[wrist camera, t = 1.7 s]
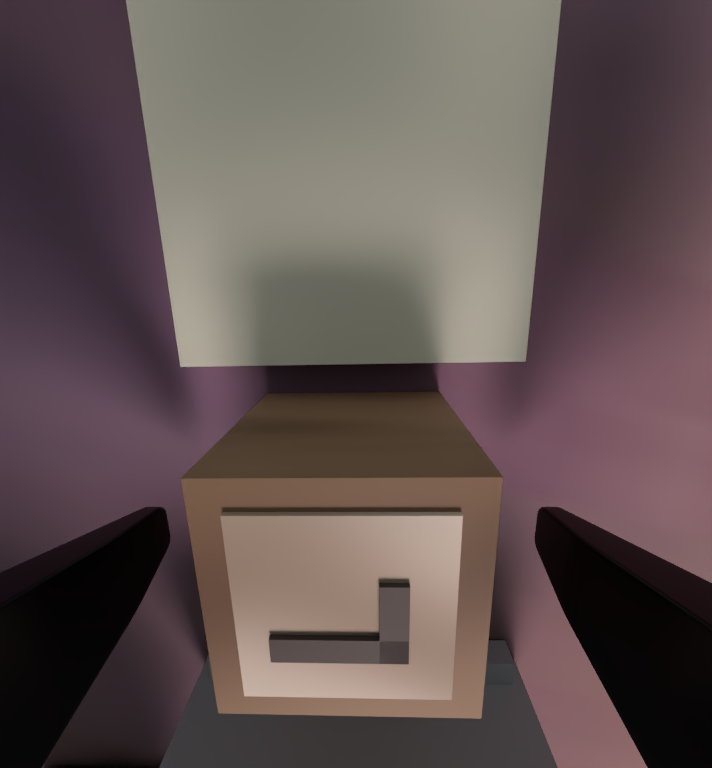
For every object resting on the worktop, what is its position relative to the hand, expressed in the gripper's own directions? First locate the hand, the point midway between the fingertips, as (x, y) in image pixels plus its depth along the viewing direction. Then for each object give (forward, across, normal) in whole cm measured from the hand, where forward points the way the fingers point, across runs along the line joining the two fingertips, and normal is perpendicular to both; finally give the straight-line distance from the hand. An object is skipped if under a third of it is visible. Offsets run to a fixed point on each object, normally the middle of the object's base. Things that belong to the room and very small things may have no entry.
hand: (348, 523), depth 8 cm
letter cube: (+3, 0, 0) cm, 3 cm away
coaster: (+2, 0, -8) cm, 8 cm away
